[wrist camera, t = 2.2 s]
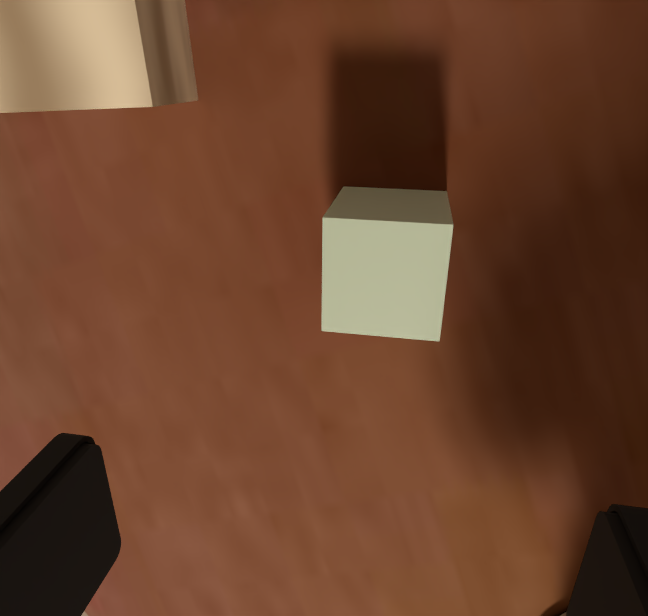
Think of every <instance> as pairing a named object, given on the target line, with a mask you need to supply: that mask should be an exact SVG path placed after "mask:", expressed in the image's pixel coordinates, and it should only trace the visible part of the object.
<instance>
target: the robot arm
mask: <svg viewBox="0 0 648 616" xmlns="http://www.w3.org/2000/svg"><path fill="white" fill-rule="evenodd" d="M120 547H121V538H120V533H119V529H118V524H117V520H116V515H115V510H114V506H113V501H112V497H111V492H110V488H109V483H108V478H107V474H106V469H105V465H104V460H103V456H102V451H101V448H100V447H99V446H98V445H95V442H94V440H93V438H92V437H90V436H83V435H76V434H68V433H61V434H58V435H57V436H56V437H54V438H53V439H52V440H51V441H50V442H49V443H48V444H47V445H46V446H45V447H44V448H43V449H42V450H41V451H40V452H39V453H38V454H37V455H36V456H35V457H34V458H33V459H32V460H31V461H30V462H29V463H28V464H27V465H26V466H25V467H24V468H23V469H22V470H21V471H20V472H19V473H18V474H17V475H16V476H15V477H14V478H13V479H12V480H11V481H10V482H9V483H8V484H7V485H6V486H5V487H4V488H3V489H2V490H1V491H0V616H81V615H82V613H83V612H84V610H85V609H86V607H87V605H88V604H89V602H90V601H91V599H92V597H93V596H94V594H95V593H96V591H97V589H98V588H99V586H100V585H101V583H102V581H103V580H104V578H105V577H106V575H107V573H108V572H109V570H110V569H111V567H112V565H113V564H114V562H115V561H116V559H117V557H118V554H119V551H120ZM560 616H648V508H640V507H632V506H624V505H617V504H612V505H611V506H610V507H609V509H608V511H607V512H603V511H600V512H599V513H598V514H597V516H596V519H595V523H594V526H593V529H592V532H591V535H590V538H589V542H588V545H587V548H586V551H585V554H584V558H583V561H582V564H581V567H580V570H579V573H578V577H577V580H576V583H575V586H574V589H573V593H572V596H571V599H570V602H569V605H568V608H567V612H565V613H563V614H562V615H560Z"/></svg>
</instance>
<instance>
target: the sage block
mask: <svg viewBox="0 0 648 616" xmlns="http://www.w3.org/2000/svg"><path fill="white" fill-rule="evenodd" d="M452 232H453V220H452V215H451V210H450V205H449V200H448V195H447V191H432V190H410V189H389V188H368V187H346V186H343V188H342V189H341V191H340V192H339V194H338V195H337V197H336V198H335V200H334V201H333V203H332V204H331V206H330V207H329V209H328V210H327V212H326V213H325V215H324V216H323V240H322V331H328V332H340V333H351V334H362V335H373V336H384V337H396V338H407V339H418V340H429V341H440V333H441V325H442V316H443V308H444V300H445V291H446V283H447V274H448V266H449V258H450V249H451V241H452Z"/></svg>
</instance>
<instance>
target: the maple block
mask: <svg viewBox="0 0 648 616" xmlns="http://www.w3.org/2000/svg"><path fill="white" fill-rule="evenodd" d="M197 100H198V95H197V88H196V80H195V73H194V65H193V58H192V50H191V43H190V36H189V28H188V21H187V13H186V6H185V0H0V113H9V112H34V111H58V110H83V109H108V108H133V107H154V106H161V105H168V104H175V103H183V102H190V101H197Z"/></svg>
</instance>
